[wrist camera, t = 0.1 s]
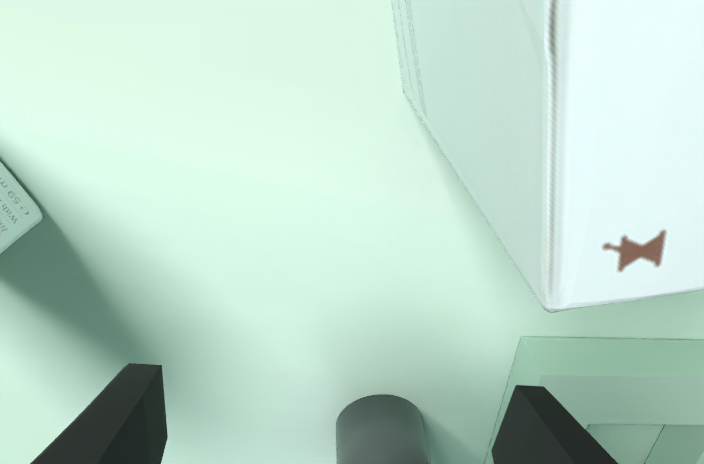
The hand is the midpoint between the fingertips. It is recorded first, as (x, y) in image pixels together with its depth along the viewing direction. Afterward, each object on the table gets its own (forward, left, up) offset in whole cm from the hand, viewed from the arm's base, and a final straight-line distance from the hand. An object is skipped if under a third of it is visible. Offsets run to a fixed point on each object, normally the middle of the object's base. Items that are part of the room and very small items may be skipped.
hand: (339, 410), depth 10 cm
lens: (-12, -3, -10) cm, 16 cm away
